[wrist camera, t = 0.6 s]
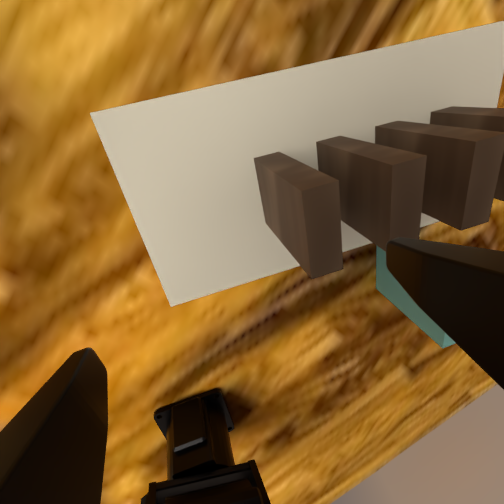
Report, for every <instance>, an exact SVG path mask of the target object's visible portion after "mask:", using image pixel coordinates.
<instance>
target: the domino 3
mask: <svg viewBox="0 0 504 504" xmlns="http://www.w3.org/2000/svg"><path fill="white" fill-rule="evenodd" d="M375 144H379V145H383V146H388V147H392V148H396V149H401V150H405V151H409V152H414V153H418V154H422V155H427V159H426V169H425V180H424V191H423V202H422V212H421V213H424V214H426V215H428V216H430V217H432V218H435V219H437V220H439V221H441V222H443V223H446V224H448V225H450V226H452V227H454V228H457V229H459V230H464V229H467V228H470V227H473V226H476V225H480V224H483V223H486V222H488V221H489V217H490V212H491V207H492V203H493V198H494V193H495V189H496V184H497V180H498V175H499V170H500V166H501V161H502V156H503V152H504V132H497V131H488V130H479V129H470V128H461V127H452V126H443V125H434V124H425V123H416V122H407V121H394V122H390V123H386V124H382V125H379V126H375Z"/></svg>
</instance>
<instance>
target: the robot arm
mask: <svg viewBox="0 0 504 504" xmlns="http://www.w3.org/2000/svg"><path fill="white" fill-rule="evenodd" d="M386 266H387V268H388V270H389V272H390V273H391V274H392V275H393V277H394V278H395V279H396V280H397V281H398V283H399V284H400V285H401V286H402V287H403V289H404V290H405V291H406V292H407V293H408V295H409V296H410V297H411V298H412V299H413V301H414V302H415V303H416V304H417V305H418V306H419V307H420V308H421V309H422V310H423V311H424V312H425V313H426V314H427V315H428V316H429V317H430V318H431V319H432V320H433V321H434V322H435V323H436V324H437V325H438V326H439V327H440V328H441V329H442V330H443V331H444V332H445V333H446V334H447V335H448V336H449V337H450V338H451V339H452V340H453V341H454V342H455V343H456V344H457V345H458V346H459V347H460V348H461V349H463V350H464V351H465V352H466V353H467V354H468V355H469V356H470V357H471V358H472V359H473V360H474V361H475V362H476V363H477V364H478V365H479V366H480V367H481V368H482V369H483V370H484V371H485V372H486V373H487V374H488V375H489V376H490V377H491V378H492V379H493V380H494V381H495V382H496V383H497V384H498V385H500V386H501V387H502V388H503V389H504V251H497V250H490V249H483V248H476V247H468V246H461V245H454V244H447V243H440V242H433V241H426V240H419V239H411V238H404V237H398V238H395V239H392V240H389V241H388V242H387V244H386ZM154 420H155V421H156V423H157V425H158V426H159V428H160V430H161V431H162V433H163V435H164V436H165V438H166V440H167V481H163V482H158V483H156V482H152V483H149V492H148V493H147V494H146V495H145V496H144V497H143V498H141V504H271V503H270V500H269V498H268V495H267V492H266V490H265V487H264V484H263V482H262V479H261V476H260V473H259V471H258V468H257V465H256V463H255V460H250V461H248V462H246V463H242V464H237V465H235V463H234V458H233V453H232V448H231V443H230V438H229V433H228V432H230V431H232V430H233V429H234V424H233V421H232V419H231V416H230V413H229V411H228V408H227V405H226V403H225V400H224V398H223V395H222V392H221V390H220V389H214V390H211V391H209V392H206V393H203V394H200V395H197V396H195V397H192V398H189V399H186V400H184V401H181V402H178V403H175V404H173V405H170V406H167V407H164V408H162V409H159V410H157V411H155V412H154ZM107 431H108V391H107V371H106V368H105V366H104V365H103V363H102V362H101V360H100V359H99V357H98V356H97V354H96V353H95V351H94V350H93V349H92V348H85V349H82V350H79V351H76V352H74V353H73V354H72V355H71V356H70V357H69V358H68V359H67V360H66V361H65V362H64V364H63V365H62V366H61V367H60V368H59V369H58V370H57V371H56V372H55V373H54V374H53V375H52V377H51V378H50V379H49V380H48V381H47V382H46V383H45V384H44V385H43V386H42V387H41V388H40V390H39V391H38V392H37V393H36V394H35V395H34V396H33V397H32V398H31V399H30V400H29V401H28V403H27V404H26V405H25V406H24V407H23V408H22V409H21V410H20V411H19V412H18V413H17V414H16V416H15V417H14V418H13V419H12V420H11V421H10V422H9V423H8V424H7V425H6V426H5V427H4V429H3V430H2V431H1V432H0V504H100V502H101V492H102V482H103V472H104V463H105V453H106V443H107Z"/></svg>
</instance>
